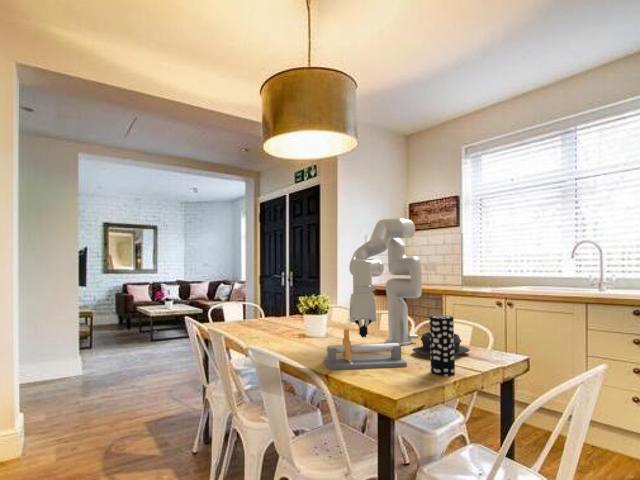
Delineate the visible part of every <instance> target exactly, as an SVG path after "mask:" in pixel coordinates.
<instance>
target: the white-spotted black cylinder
mask: <svg viewBox="0 0 640 480" xmlns="http://www.w3.org/2000/svg"><path fill="white" fill-rule="evenodd" d="M428 317H429V332H430V355H429V357H430V373H431V374H432V375H435V376H440V377H451V376H452V377H453V376H455V375H456V365H455V361H456V359H455V356H456V355H455V356H454V334H455V328H454V327H455V326H454V316H452V315H451V316H450V315H441V314H440V315H439V314H438V315H437V314H436V315H429V316H428Z"/></svg>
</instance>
